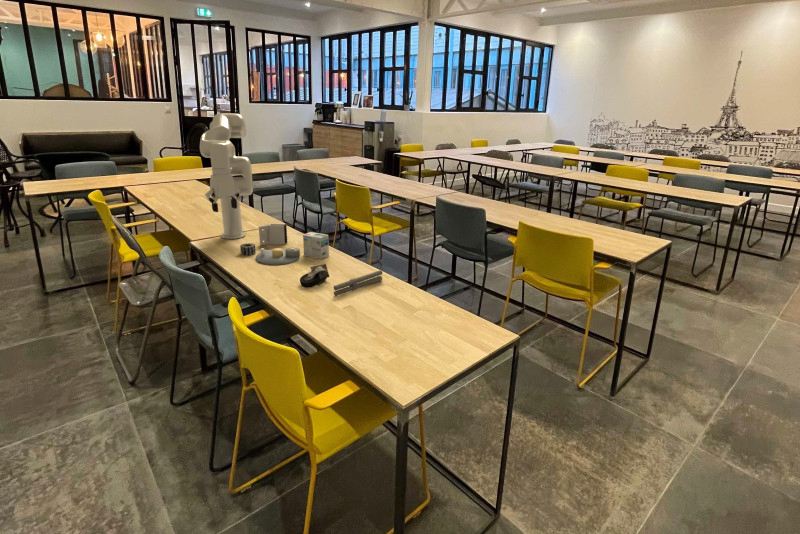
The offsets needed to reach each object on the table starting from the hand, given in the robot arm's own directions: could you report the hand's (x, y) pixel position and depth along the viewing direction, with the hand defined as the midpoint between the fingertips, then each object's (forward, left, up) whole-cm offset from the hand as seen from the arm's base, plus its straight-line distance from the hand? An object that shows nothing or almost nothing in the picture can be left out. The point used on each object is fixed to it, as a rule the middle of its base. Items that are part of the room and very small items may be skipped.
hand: (225, 209), depth 208 cm
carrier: (-2, +22, -24) cm, 32 cm away
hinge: (-24, +17, -24) cm, 38 cm away
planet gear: (-9, +7, -24) cm, 26 cm away
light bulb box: (-5, +40, -24) cm, 47 cm away
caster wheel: (+31, +41, -24) cm, 57 cm away
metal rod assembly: (+36, +59, -24) cm, 73 cm away
